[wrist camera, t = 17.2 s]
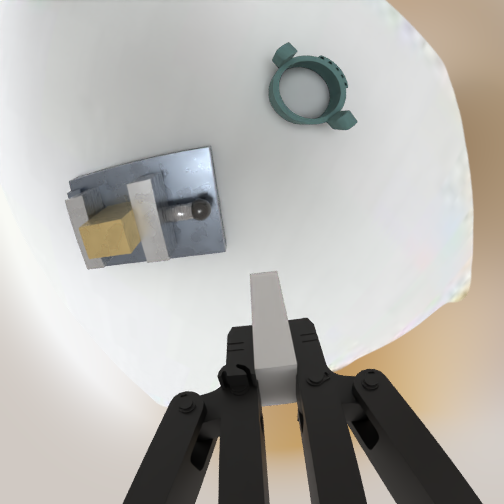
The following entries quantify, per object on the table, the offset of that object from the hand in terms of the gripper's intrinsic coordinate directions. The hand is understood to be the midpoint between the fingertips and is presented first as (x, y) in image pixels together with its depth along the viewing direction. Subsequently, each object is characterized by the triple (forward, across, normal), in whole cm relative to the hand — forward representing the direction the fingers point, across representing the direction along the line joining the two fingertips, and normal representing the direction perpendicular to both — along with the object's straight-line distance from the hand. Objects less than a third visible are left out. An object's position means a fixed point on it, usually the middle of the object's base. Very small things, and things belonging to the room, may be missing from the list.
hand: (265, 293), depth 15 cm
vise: (+22, -15, 0) cm, 27 cm away
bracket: (+23, +8, +13) cm, 27 cm away
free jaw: (+20, -9, 0) cm, 22 cm away
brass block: (+20, -17, 0) cm, 26 cm away
